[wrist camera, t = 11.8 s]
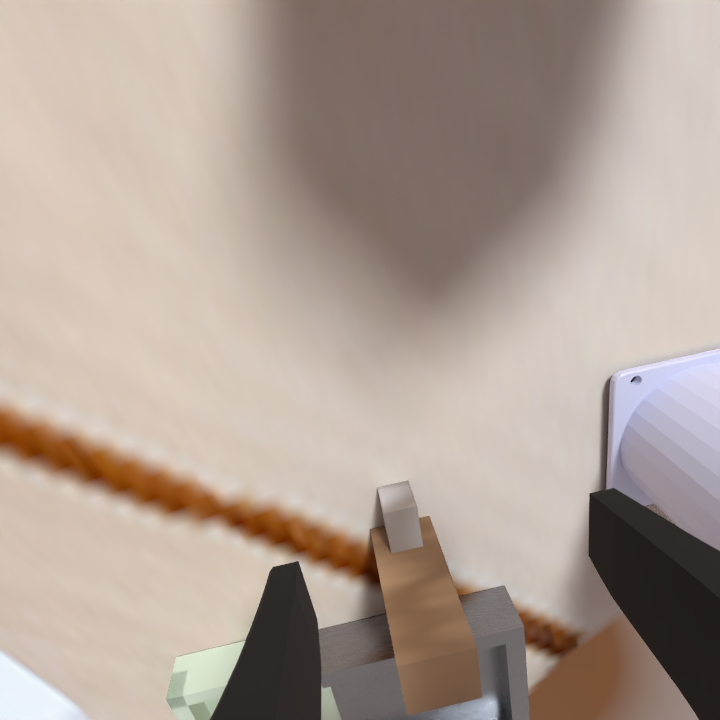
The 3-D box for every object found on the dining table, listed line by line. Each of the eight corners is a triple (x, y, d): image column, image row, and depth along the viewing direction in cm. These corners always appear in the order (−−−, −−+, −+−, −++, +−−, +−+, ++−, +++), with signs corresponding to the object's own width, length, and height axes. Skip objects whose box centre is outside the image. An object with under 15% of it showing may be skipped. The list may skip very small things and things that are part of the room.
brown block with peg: (423, 477, 23) (471, 602, 17) (440, 591, 26) (486, 733, 20) (361, 490, 23) (387, 622, 17) (386, 604, 26) (415, 750, 20)
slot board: (504, 585, 27) (524, 626, 25) (514, 705, 31) (531, 749, 29) (316, 630, 26) (318, 675, 24) (354, 745, 31) (359, 793, 29)
